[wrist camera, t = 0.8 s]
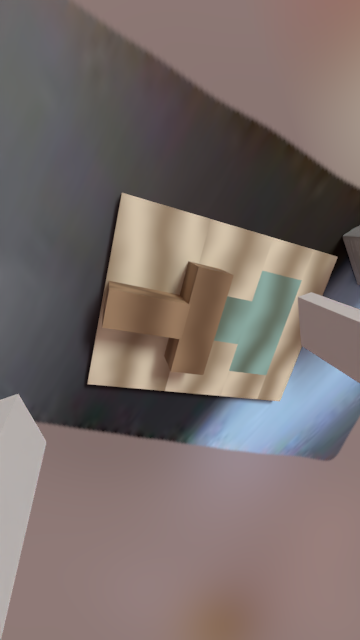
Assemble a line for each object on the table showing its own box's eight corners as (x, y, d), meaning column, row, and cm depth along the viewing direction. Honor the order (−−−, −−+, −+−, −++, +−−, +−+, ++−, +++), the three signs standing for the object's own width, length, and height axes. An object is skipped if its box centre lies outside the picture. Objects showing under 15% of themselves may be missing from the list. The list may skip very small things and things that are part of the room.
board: (88, 379, 35) (87, 384, 34) (121, 193, 29) (122, 192, 28) (275, 396, 44) (279, 401, 42) (331, 255, 38) (337, 256, 36)
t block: (96, 347, 33) (95, 363, 29) (115, 243, 29) (117, 247, 26) (193, 359, 36) (203, 375, 33) (219, 268, 33) (233, 275, 30)
